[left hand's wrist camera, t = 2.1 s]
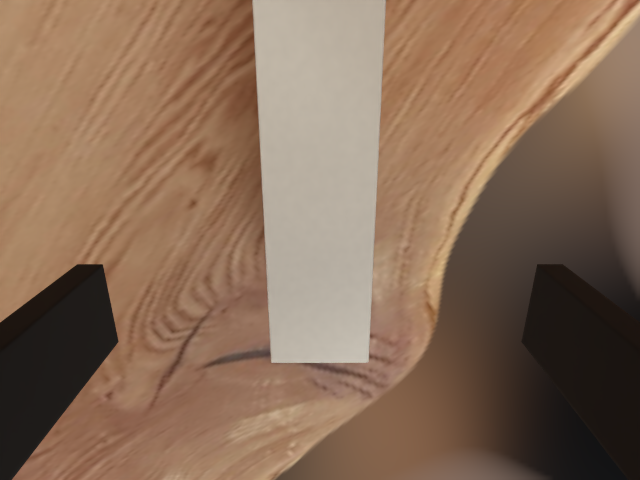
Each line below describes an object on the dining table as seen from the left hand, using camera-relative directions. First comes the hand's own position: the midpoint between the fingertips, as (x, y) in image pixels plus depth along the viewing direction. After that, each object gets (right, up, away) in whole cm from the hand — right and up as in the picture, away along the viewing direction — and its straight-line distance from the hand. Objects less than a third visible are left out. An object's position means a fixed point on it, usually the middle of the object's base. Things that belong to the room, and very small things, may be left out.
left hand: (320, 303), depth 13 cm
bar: (0, +23, +7) cm, 24 cm away
